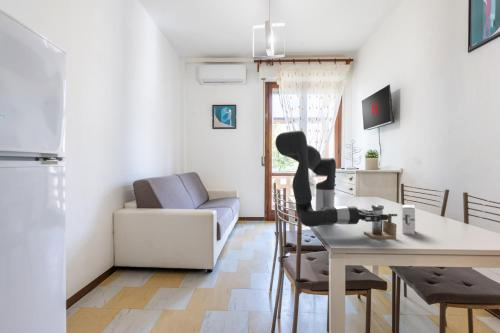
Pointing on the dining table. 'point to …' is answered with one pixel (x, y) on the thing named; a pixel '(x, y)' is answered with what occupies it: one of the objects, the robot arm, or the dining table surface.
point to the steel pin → (375, 225)
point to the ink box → (408, 219)
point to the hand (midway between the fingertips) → (381, 215)
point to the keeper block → (385, 230)
